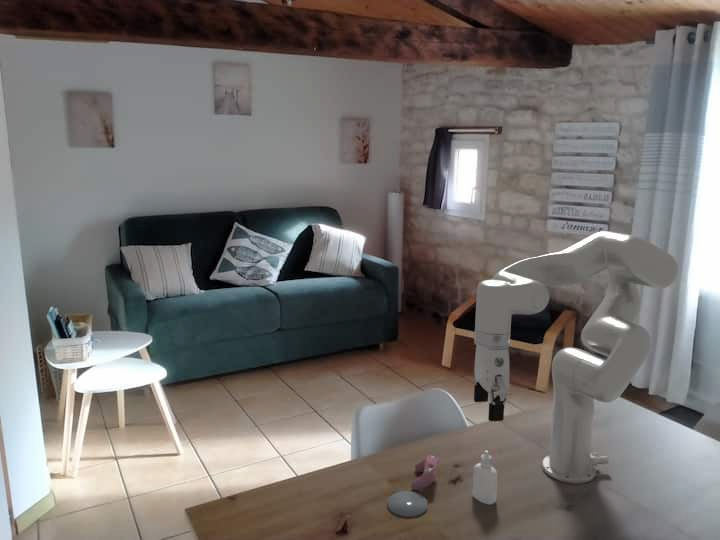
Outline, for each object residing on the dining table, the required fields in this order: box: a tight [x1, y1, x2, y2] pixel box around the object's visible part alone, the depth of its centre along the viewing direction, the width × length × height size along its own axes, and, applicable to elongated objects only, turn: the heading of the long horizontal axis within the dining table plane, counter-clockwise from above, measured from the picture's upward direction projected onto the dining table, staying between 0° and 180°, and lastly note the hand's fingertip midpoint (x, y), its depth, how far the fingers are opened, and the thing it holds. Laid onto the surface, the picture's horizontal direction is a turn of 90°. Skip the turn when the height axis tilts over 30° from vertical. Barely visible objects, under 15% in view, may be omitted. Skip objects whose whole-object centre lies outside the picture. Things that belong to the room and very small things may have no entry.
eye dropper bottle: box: [471, 450, 499, 506], centre depth 138 cm, size 4×6×12 cm
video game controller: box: [410, 454, 439, 491], centre depth 146 cm, size 10×5×7 cm, turn 168°
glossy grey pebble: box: [387, 490, 429, 518], centre depth 137 cm, size 9×9×1 cm
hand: (488, 410), depth 135 cm, fingers open, 9 cm apart
